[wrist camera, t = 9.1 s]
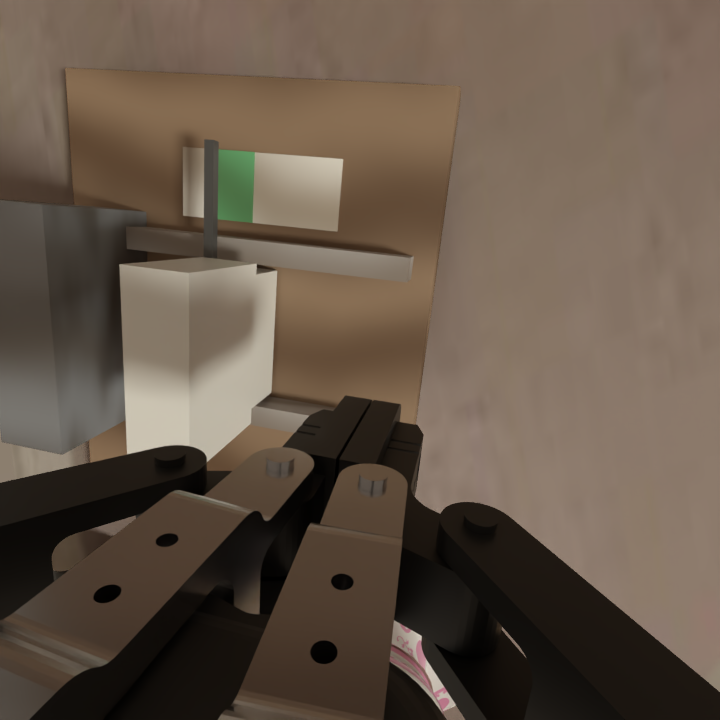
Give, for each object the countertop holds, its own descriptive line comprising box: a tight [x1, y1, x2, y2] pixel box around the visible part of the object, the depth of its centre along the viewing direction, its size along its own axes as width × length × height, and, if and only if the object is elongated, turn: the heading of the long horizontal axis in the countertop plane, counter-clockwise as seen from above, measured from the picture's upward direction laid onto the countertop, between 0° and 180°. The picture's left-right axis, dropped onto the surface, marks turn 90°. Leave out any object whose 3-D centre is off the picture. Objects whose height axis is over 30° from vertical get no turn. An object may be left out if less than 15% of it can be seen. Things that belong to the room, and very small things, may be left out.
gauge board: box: [0, 68, 461, 471], centre depth 21 cm, size 22×18×8 cm
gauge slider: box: [119, 139, 277, 462], centre depth 19 cm, size 12×4×8 cm, turn 174°
